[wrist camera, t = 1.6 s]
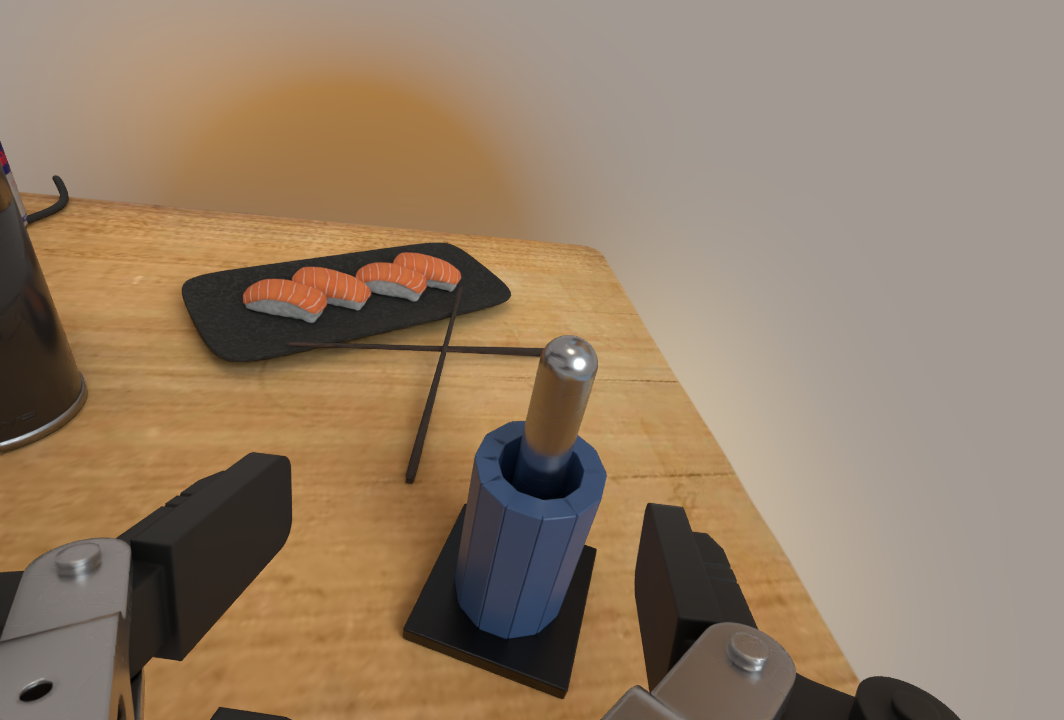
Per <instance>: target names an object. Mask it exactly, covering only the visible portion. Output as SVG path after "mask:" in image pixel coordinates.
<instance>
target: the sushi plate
mask: <svg viewBox="0 0 1064 720" xmlns="http://www.w3.org/2000/svg"><path fill="white" fill-rule="evenodd" d="M182 296H183V299H184V302H185V305H186V307H187V309H188V312H189V314H190V316H191V318H192V320H193V322H194V324H195V326H196V327H197V329H198V331H199V333H200V335H201V337H202V338H203V340H204V342H205V343H206V345H207V346H208V347H209V348H210V350H211V351H212V352H213V353H214V354H215V355H217V356H218V357H220V358H222V359H224V360H227V361H231V362H249V361H258V360H264V359H270V358H275V357H279V356H284V355H289V354H293V353H298V352H302V351H307V350H311V349H315V348H320V347H332V348H359V349H387V350H413V351H437V352H441V355H440V358H439V362H438V365H437V368H436V372H435V375H434V379H433V382H432V386H431V389H430V393H429V396H428V399H427V403H426V406H425V410H424V413H423V416H422V420H421V423H420V427H419V430H418V434H417V437H416V441H415V444H414V448H413V451H412V455H411V458H410V462H409V465H408V469H407V473H406V482H407V483H413V481H414V479H415V475H416V471H417V468H418V464H419V460H420V456H421V452H422V448H423V444H424V440H425V436H426V432H427V428H428V424H429V420H430V416H431V412H432V408H433V404H434V400H435V396H436V392H437V388H438V384H439V380H440V376H441V372H442V368H443V364H444V360H445V356H446V352H458V353H478V354H499V355H523V356H541V354H542V352H543V350H544V348H514V347H466V346H448V344H449V340H450V336H451V332H452V328H453V324H454V320H455V317H456V316H457V315H461V314H465V313H469V312H473V311H478V310H482V309H486V308H489V307H493V306H496V305H499V304H501V303H504V302H505V301H507V300H508V299H509V298H510V297H511V292H510V290H509V288H508V287H507V286H506V285H505V284H504V283H503V282H502V281H501V280H500V279H499V278H498V277H497V276H496V275H494V274H493V273H492V272H491V271H489V270H488V269H487V268H486V267H484V266H483V265H482V264H481V263H479V262H478V261H477V260H476V259H474V258H473V257H472V256H470V255H469V254H468V253H466V252H465V251H463V250H462V249H460V248H458V247H456V246H454V245H451V244H448V243H423V244H414V245H406V246H399V247H391V248H384V249H377V250H370V251H362V252H355V253H348V254H341V255H333V256H326V257H319V258H312V259H304V260H297V261H290V262H283V263H275V264H268V265H261V266H254V267H247V268H240V269H233V270H226V271H220V272H215V273H209V274H205V275H200V276H197V277H194V278H192V279H189V280H187V281H186V282H185V283H184V284H183V287H182ZM448 317H451V319H450V323H449V326H448V330H447V333H446V337H445V341H444V344H443V346H417V345H382V344H348V343H341V342H345V341H350V340H354V339H358V338H362V337H367V336H371V335H375V334H380V333H384V332H388V331H392V330H397V329H401V328H405V327H410V326H414V325H418V324H422V323H427V322H431V321H435V320H440V319H444V318H448Z"/></svg>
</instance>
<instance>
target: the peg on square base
mask: <svg viewBox="0 0 1064 720" xmlns="http://www.w3.org/2000/svg"><path fill="white" fill-rule="evenodd" d="M597 369H598V360H597V356H596V353H595V351H594V349H593V348H592V346H591V345H590V344H589V343H588V342H587V341H586V340H584V339H582V338H580V337H578V336H573V335H564V336H560V337H557V338H555V339H553V340H552V341H551V342H549V343H548V344H547V345H546V347H545V348H544V350H543V352H542V354H541V357H540V361H539V365H538V370H537V374H536V378H535V383H534V387H533V392H532V396H531V400H530V405H529V409H528V413H527V418H526V422H525V427H524V431H523V435H522V440H521V444H520V448H519V453H518V457H517V461H516V466H515V470H514V475H513V479H512V483H511V485H512V486H513V487H514V488H515V489H516V490H517V491H518V492H520V493H523V494H526V495H529V496H532V497H535V498H538V499H541V500H550V499H558V497H559V493H560V490H561V487H562V484H563V480H564V477H565V474H566V471H567V467H568V464H569V461H570V458H571V454H572V451H573V448H574V445H575V441H576V438H577V435H578V432H579V428H580V425H581V422H582V419H583V415H584V412H585V409H586V406H587V402H588V399H589V396H590V393H591V389H592V386H593V383H594V380H595V376H596V373H597ZM466 506H467V504H464V506H463V508H462V510H461V512H460V514H459V516H458V518H457V520H456V522H455V524H454V526H453V528H452V531H451V533H450V535H449V537H448V539H447V541H446V543H445V545H444V547H443V549H442V551H441V553H440V555H439V557H438V559H437V561H436V563H435V565H434V567H433V569H432V571H431V573H430V575H429V577H428V579H427V581H426V583H425V585H424V587H423V590H422V592H421V594H420V596H419V598H418V600H417V602H416V604H415V606H414V608H413V610H412V612H411V614H410V616H409V618H408V620H407V622H406V624H405V626H404V628H403V638H404V639H406V640H409V641H411V642H414V643H416V644H419V645H422V646H424V647H427V648H430V649H432V650H435V651H437V652H440V653H443V654H445V655H448V656H451V657H453V658H456V659H458V660H461V661H464V662H466V663H469V664H472V665H474V666H477V667H479V668H482V669H485V670H487V671H490V672H493V673H495V674H498V675H500V676H503V677H506V678H508V679H511V680H513V681H516V682H519V683H521V684H524V685H527V686H529V687H532V688H534V689H537V690H540V691H542V692H545V693H548V694H550V695H553V696H555V697H558V698H561V699H564V698H565V695H566V693H567V691H568V687H569V682H570V677H571V672H572V668H573V663H574V658H575V653H576V648H577V643H578V639H579V634H580V629H581V624H582V619H583V614H584V610H585V605H586V600H587V595H588V590H589V585H590V581H591V576H592V571H593V566H594V561H595V556H596V552H597V549H596V548H593V547H590V546H587V545H584V547H583V549H582V552H581V555H580V557H579V560H578V563H577V565H576V568H575V571H574V573H573V576H572V579H571V581H570V584H569V587H568V589H567V592H566V595H565V597H564V600H563V602H562V605H561V608H560V610H559V613H558V615H557V617H556V618H554V619H553V620H552V621H551V622H550V623H549V624H548V625H547V626H546V627H544V628H543V629H542V630H541V631H540V632H539V633H536V634H534V635H528V636H522V637H516V638H510V639H509V638H508V637H507V639H505V638H502V637H499V636H497V635H494V634H491V633H489V632H486V631H483V630H481V629H479V627H477V626H476V625H475V624H474V623H473V622H472V620H471V619H470V618H469V617H468V616H467V615H466V613H465V612H464V611H463V610H462V609H461V607H460V605H459V604H458V598H457V592H456V586H455V573H456V567H457V561H458V555H459V549H460V543H461V537H462V531H463V524H464V518H465V512H466Z"/></svg>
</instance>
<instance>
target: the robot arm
mask: <svg viewBox="0 0 1064 720" xmlns="http://www.w3.org/2000/svg"><path fill="white" fill-rule="evenodd" d="M53 180H54V182H55V185H56V187H57V189H58V191H59V194H60V199H59V201H58V202H57V203H56V204H54V205H53V206H51V207H49V208H47V209H44V210H42V211H39V212H36V213H34V214H31V215H28V216H27V223H28V224H29V223H31V222H34V221H37V220H40V219H42V218H45V217H47V216H50V215H52V214H54V213H56V212H58V211H60V210H61V209H63V208H64V207H65V206H66V204H67V202H68V192H67V189H66V187H65V185H64V183H63V181H62V179H61V178H60V177H59V176H53ZM86 397H87V387H86V384H85V381H84V379H83V376H82V374H81V373H80V372H79V370H78V368H77V365H76V362H75V360H74V357H73V354H72V352H71V349H70V346H69V343H68V340H67V337H66V335H65V332H64V329H63V327H62V324H61V321H60V318H59V316H58V313H57V310H56V308H55V305H54V302H53V300H52V297H51V294H50V292H49V289H48V286H47V284H46V281H45V278H44V275H43V273H42V270H41V267H40V265H39V262H38V259H37V257H36V254H35V251H34V249H33V246H32V243H31V241H30V238H29V235H28V232H27V230H26V227H25V224H24V222H23V219H22V216H21V214H20V211H19V208H18V206H17V203H16V200H15V198H14V196H13V193H12V191H11V188H10V185H9V182H8V180H7V177H6V174H5V172H4V169H3V166H2V164H1V161H0V453H2V452H6V451H9V450H13V449H16V448H19V447H22V446H24V445H27V444H30V443H32V442H34V441H37V440H39V439H41V438H43V437H45V436H47V435H49V434H51V433H52V432H54V431H56V430H57V429H59V428H60V427H62V426H63V425H65V424H66V423H67V422H69V421H70V420H71V419H72V418H73V417H74V416H75V415H76V414H77V413H78V412H79V410H80V409H81V408H82V406H83V405H84V403H85V400H86ZM291 525H292V489H291V464H290V461H289V459H288V458H287V457H286V456H280V455H272V454H264V453H256V452H252V453H249V454H248V455H246V456H245V457H243V458H242V459H241V460H239V461H238V462H237V463H235V464H234V465H232V466H231V467H230V468H228V469H227V470H226V471H221V472H219V473H216V474H214V475H211V476H208V477H206V478H203V479H201V480H198V481H197V482H196V483H194V484H193V485H191V486H190V487H189V488H187V489H186V490H184V491H183V492H181V494H180V496H176V497H174V498H173V499H171V500H170V501H169V502H167V503H166V505H165V507H163V506H161V507H160V508H159V509H157V510H156V511H154V512H153V513H151V514H150V515H149V516H147V517H146V518H144V519H143V520H141V521H140V522H139V523H137V524H136V525H134V526H133V527H131V528H130V529H129V530H127V531H126V532H124V533H123V534H121V535H120V536H119V537H117V538H116V539H115V538H91V539H85V540H80V541H75V542H72V543H68V544H65V545H62V546H60V547H57V548H55V549H53V550H50V551H48V552H46V553H45V554H43V555H41V556H39V557H38V558H36V559H35V560H34V561H33V562H31V563H30V564H29V565H28V566H27V568H26V569H25V571H15V572H2V573H0V720H144V695H145V677H144V668H143V667H144V666H145V665H146V663H147V662H148V661H149V660H150V659H151V658H152V657H157V658H163V659H170V660H177V661H182V660H183V659H184V658H185V657H186V656H187V654H188V653H189V652H190V651H191V650H192V649H193V648H194V647H195V645H196V644H197V643H198V642H199V641H200V640H201V639H202V638H203V636H204V635H205V634H206V633H207V632H208V631H209V630H210V628H211V627H212V626H213V625H214V624H215V623H216V622H217V621H218V619H219V618H220V617H221V616H222V615H223V614H224V613H225V612H226V610H227V609H228V608H229V607H230V606H231V605H232V604H233V603H234V601H235V600H236V599H237V598H238V597H239V596H240V595H241V594H242V592H243V591H244V590H245V589H246V588H247V587H248V586H249V585H250V583H251V582H252V581H253V580H254V579H255V578H256V577H257V576H258V574H259V573H260V572H261V571H262V570H263V569H264V568H265V567H266V565H267V564H268V563H269V562H270V561H271V560H272V559H273V557H274V556H275V555H276V554H277V553H278V552H279V551H280V550H281V548H282V547H283V546H284V544H285V542H286V541H287V538H288V536H289V533H290V529H291ZM635 599H636V605H637V612H638V619H639V625H640V632H641V638H642V645H643V652H644V658H645V665H646V672H647V678H648V685H649V692H650V693H649V692H648V691H646V690H645V689H644V688H642V687H641V686H639V685H636V686H633V687H632V688H630V689H629V690H628V691H627V692H626V693H625V694H624V695H623V696H622V697H621V698H620V699H619V700H618V701H617V703H616V704H615V705H614V706H613V707H612V708H611V709H610V710H609V711H608V712H607V713H606V714H605V715H604V716H603V718H602V719H601V720H960V719H959V717H958V716H957V715H956V714H955V713H954V712H953V711H952V710H950V709H949V708H948V707H947V706H946V705H945V704H943V703H942V702H941V701H939V700H938V699H937V698H935V697H934V696H932V695H931V694H929V693H927V692H926V691H924V690H922V689H920V688H918V687H916V686H914V685H912V684H909V683H907V682H904V681H901V680H898V679H894V678H890V677H883V676H880V677H879V676H875V677H869V678H867V679H865V680H863V681H862V682H861V683H860V684H859V686H858V688H857V691H856V695H855V697H854V696H851V695H848V694H846V693H843V692H840V691H838V690H835V689H832V688H830V687H827V686H824V685H822V684H819V683H816V682H814V681H812V680H809V679H807V678H805V677H803V676H801V675H800V674H798V673H796V669H795V665H794V663H793V660H792V658H791V657H790V655H789V654H788V652H787V651H786V650H785V649H784V648H783V647H782V646H781V645H780V644H779V643H778V642H777V641H775V640H774V639H773V638H771V637H770V636H768V635H767V634H765V633H763V632H761V631H759V630H758V628H757V626H756V623H755V621H754V619H753V616H752V614H751V612H750V610H749V607H748V605H747V603H746V600H745V598H744V596H743V594H742V591H741V589H740V587H739V584H737V580H736V577H735V575H734V573H733V571H732V569H730V564H729V561H728V559H727V557H726V554H725V552H724V550H723V548H721V547H720V546H719V545H718V544H717V543H716V542H715V541H714V540H713V539H712V538H711V537H710V536H709V535H708V534H707V533H699V532H692V530H691V527H690V524H689V521H688V518H687V516H686V513H685V510H684V508H683V507H679V506H671V505H663V504H655V503H648V504H647V506H646V510H645V514H644V520H643V526H642V532H641V538H640V544H639V550H638V556H637V562H636V569H635ZM210 720H291V719H289V718H287V717H283V716H276V715H270V714H263V713H257V712H250V711H243V710H237V709H230V708H224V707H219V708H218V710H217V711H216V712H215V714H214V715H213V716H212V718H211V719H210Z"/></svg>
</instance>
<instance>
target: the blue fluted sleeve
mask: <svg viewBox="0 0 1064 720" xmlns="http://www.w3.org/2000/svg"><path fill="white" fill-rule="evenodd" d="M525 422H526V421H512V422H509V423H507V424H505V425H503V426H501V427H499V428H497V429H496V430H494V431H492V432H490V433H488V434H487V435H486V436H485V437H484V439H483V441H482V443H481V445H480V447H479V449H478V451H477V453H476V455H475V458H474V464H473V470H472V476H471V482H470V488H469V494H468V500H467V506H466V512H465V518H464V524H463V531H462V537H461V543H460V549H459V555H458V561H457V567H456V573H455V586H456V592H457V598H458V604H459V605H460V607H461V609H462V610H463V611H464V612H465V613H466V615H467V616H468V617H469V618H470V619H471V620H472V622H473V623H474V624H475V625H476V626H477V627H479V629H481V630H483V631H486V632H489V633H491V634H494V635H497V636H499V637H502V638H505V639H507V637H508V638H509V639H510V638H516V637H522V636H528V635H534V634H536V633H539V632H540V631H541V630H542V629H543V628H544V627H546V626H547V625H548V624H549V623H550V622H551V621H552V620H553V619H554V618H556V617H557V615H558V613H559V610H560V608H561V605H562V602H563V600H564V597H565V595H566V592H567V589H568V587H569V584H570V581H571V579H572V576H573V573H574V571H575V568H576V565H577V563H578V560H579V557H580V555H581V552H582V549H583V547H584V544H585V541H586V539H587V536H588V533H589V531H590V528H591V525H592V523H593V520H594V518H595V515H596V512H597V510H598V507H599V504H600V502H601V499H602V495H603V490H604V486H605V481H606V477H607V475H606V471H605V469H604V467H603V464H602V462H601V460H600V458H599V456H598V454H597V452H596V450H594V448H593V447H592V446H591V445H589V444H588V443H587V442H586V441H584V440H583V439H582V438H581V437H579V436H578V435H577V438H576V441H575V445H574V448H573V451H572V454H571V458H570V461H569V464H568V467H567V471H566V474H565V477H564V480H563V484H562V487H561V490H560V493H559V497H558V499H550V500H541V499H538V498H535V497H532V496H529V495H526V494H523V493H520V492H518V491H517V490H516V489H515V488H514V487H513V486H512V485H511V483H512V479H513V475H514V470H515V466H516V461H517V457H518V453H519V448H520V444H521V440H522V435H523V431H524V427H525Z"/></svg>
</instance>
